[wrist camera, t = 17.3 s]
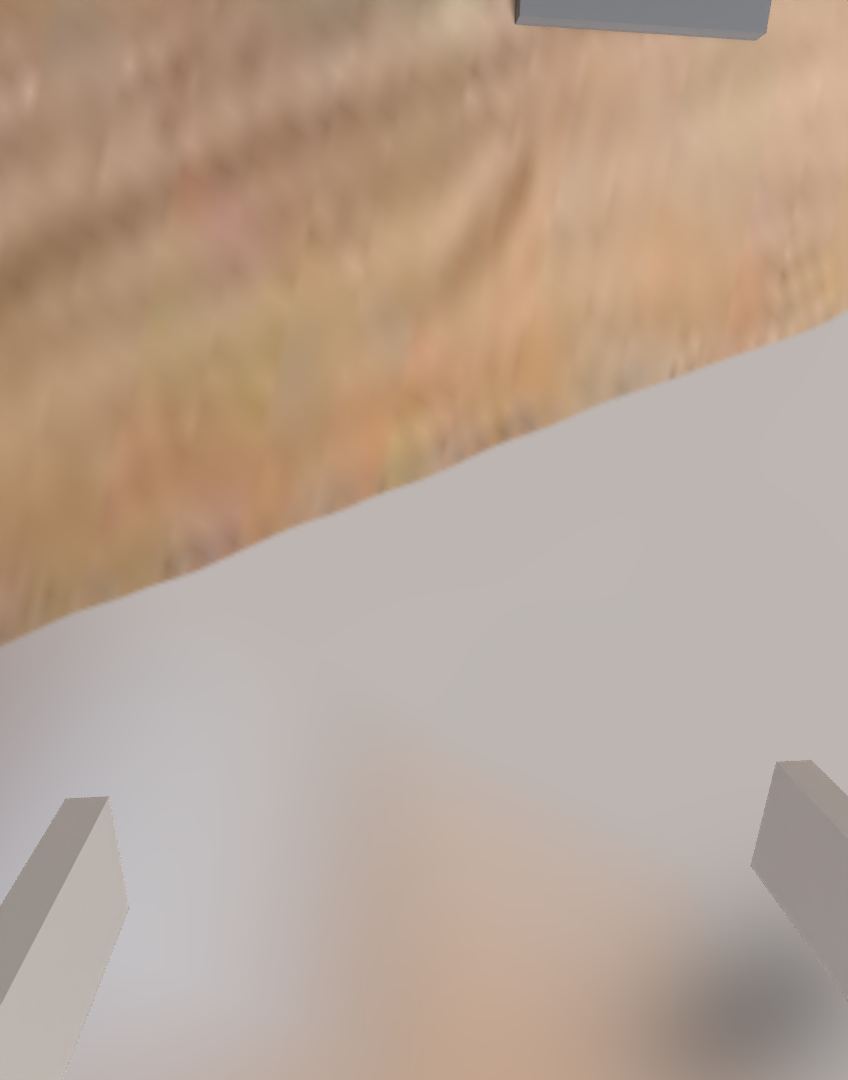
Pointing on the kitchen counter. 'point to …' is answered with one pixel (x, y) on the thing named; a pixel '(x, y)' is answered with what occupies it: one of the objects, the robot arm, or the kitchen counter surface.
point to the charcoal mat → (652, 16)
